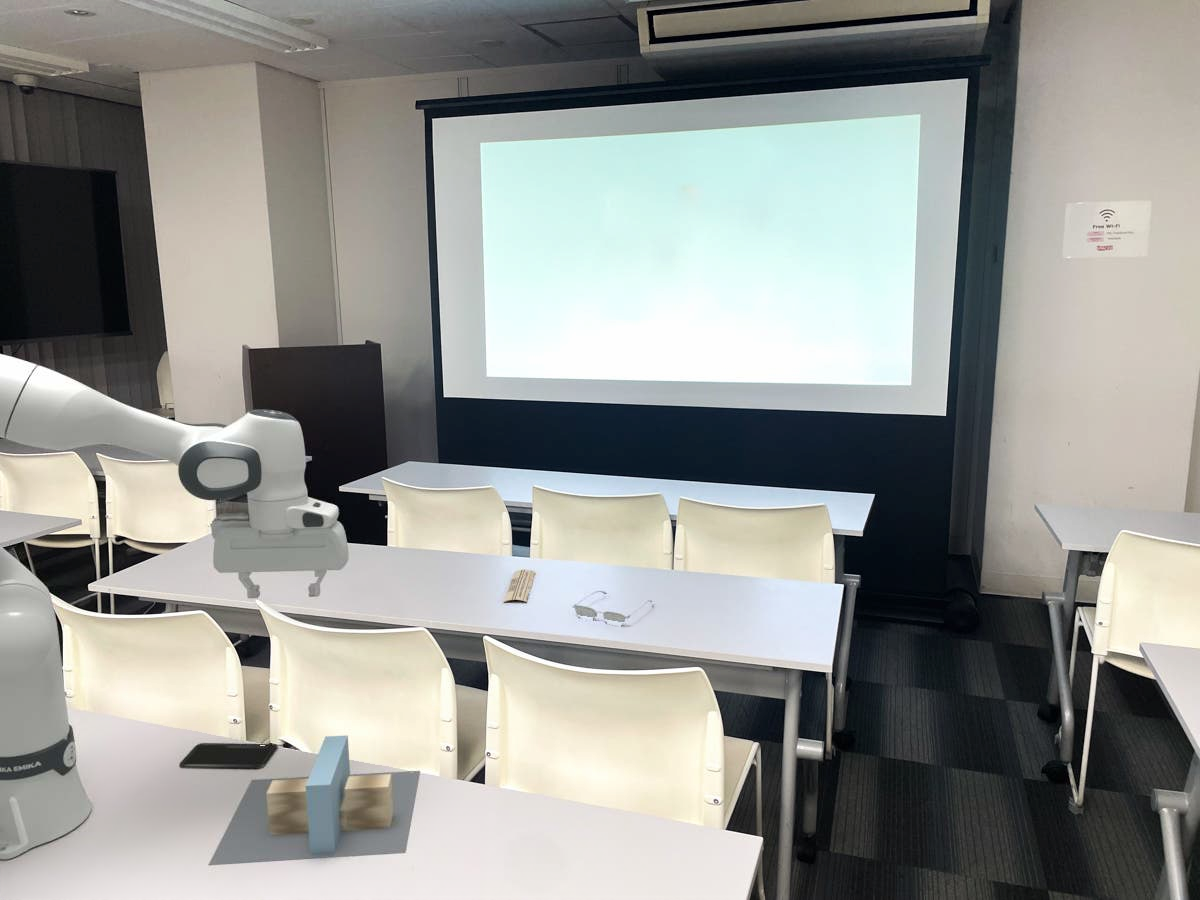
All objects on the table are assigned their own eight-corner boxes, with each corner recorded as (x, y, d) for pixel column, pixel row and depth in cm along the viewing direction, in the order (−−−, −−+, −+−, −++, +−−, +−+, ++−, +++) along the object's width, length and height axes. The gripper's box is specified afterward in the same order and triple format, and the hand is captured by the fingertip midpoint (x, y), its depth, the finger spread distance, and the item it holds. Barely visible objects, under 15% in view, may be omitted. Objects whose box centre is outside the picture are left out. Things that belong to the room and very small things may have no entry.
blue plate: (310, 853, 131) (305, 785, 128) (329, 798, 144) (325, 736, 142) (334, 852, 131) (330, 784, 129) (351, 797, 144) (347, 735, 142)
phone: (262, 767, 153) (176, 766, 153) (262, 773, 153) (177, 772, 153) (280, 743, 160) (198, 742, 161) (280, 749, 160) (199, 748, 161)
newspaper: (526, 606, 230) (526, 599, 230) (499, 605, 231) (499, 599, 230) (535, 575, 253) (535, 569, 253) (510, 575, 254) (510, 569, 253)
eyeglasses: (572, 619, 221) (571, 603, 220) (605, 596, 237) (605, 581, 236) (627, 630, 214) (627, 615, 213) (658, 606, 230) (658, 591, 229)
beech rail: (269, 835, 135) (266, 793, 133) (275, 821, 138) (272, 780, 137) (390, 827, 137) (388, 786, 135) (393, 814, 140) (391, 774, 139)
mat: (208, 867, 128) (208, 865, 128) (251, 782, 150) (251, 779, 149) (405, 855, 131) (405, 852, 131) (420, 772, 152) (420, 770, 152)
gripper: (203, 519, 135) (210, 605, 137) (340, 516, 137) (345, 601, 139) (216, 508, 141) (223, 591, 144) (348, 506, 143) (352, 588, 146)
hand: (284, 596), depth 142 cm, fingers open, 8 cm apart
